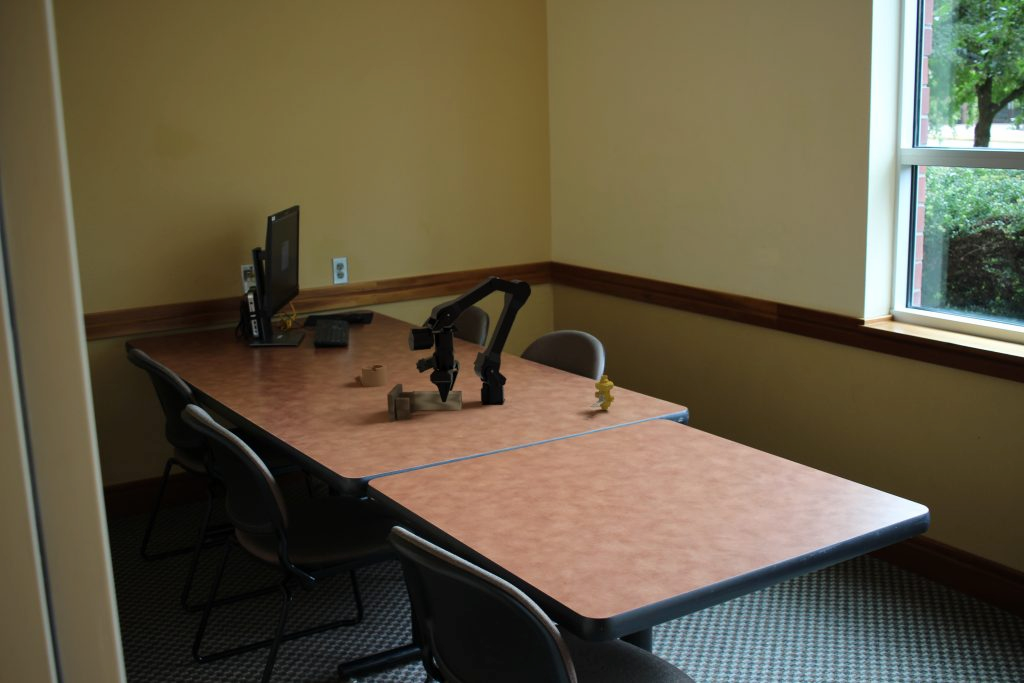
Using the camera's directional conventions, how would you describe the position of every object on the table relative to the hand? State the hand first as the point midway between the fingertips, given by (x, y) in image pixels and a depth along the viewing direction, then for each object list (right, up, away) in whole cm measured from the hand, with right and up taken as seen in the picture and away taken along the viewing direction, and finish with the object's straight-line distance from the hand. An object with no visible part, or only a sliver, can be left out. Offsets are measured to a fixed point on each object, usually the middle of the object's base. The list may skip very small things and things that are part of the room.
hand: (446, 398), depth 299 cm
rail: (-2, -3, +1) cm, 4 cm away
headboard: (-12, -5, -6) cm, 14 cm away
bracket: (-27, +3, +38) cm, 47 cm away
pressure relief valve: (+46, -4, -9) cm, 47 cm away
